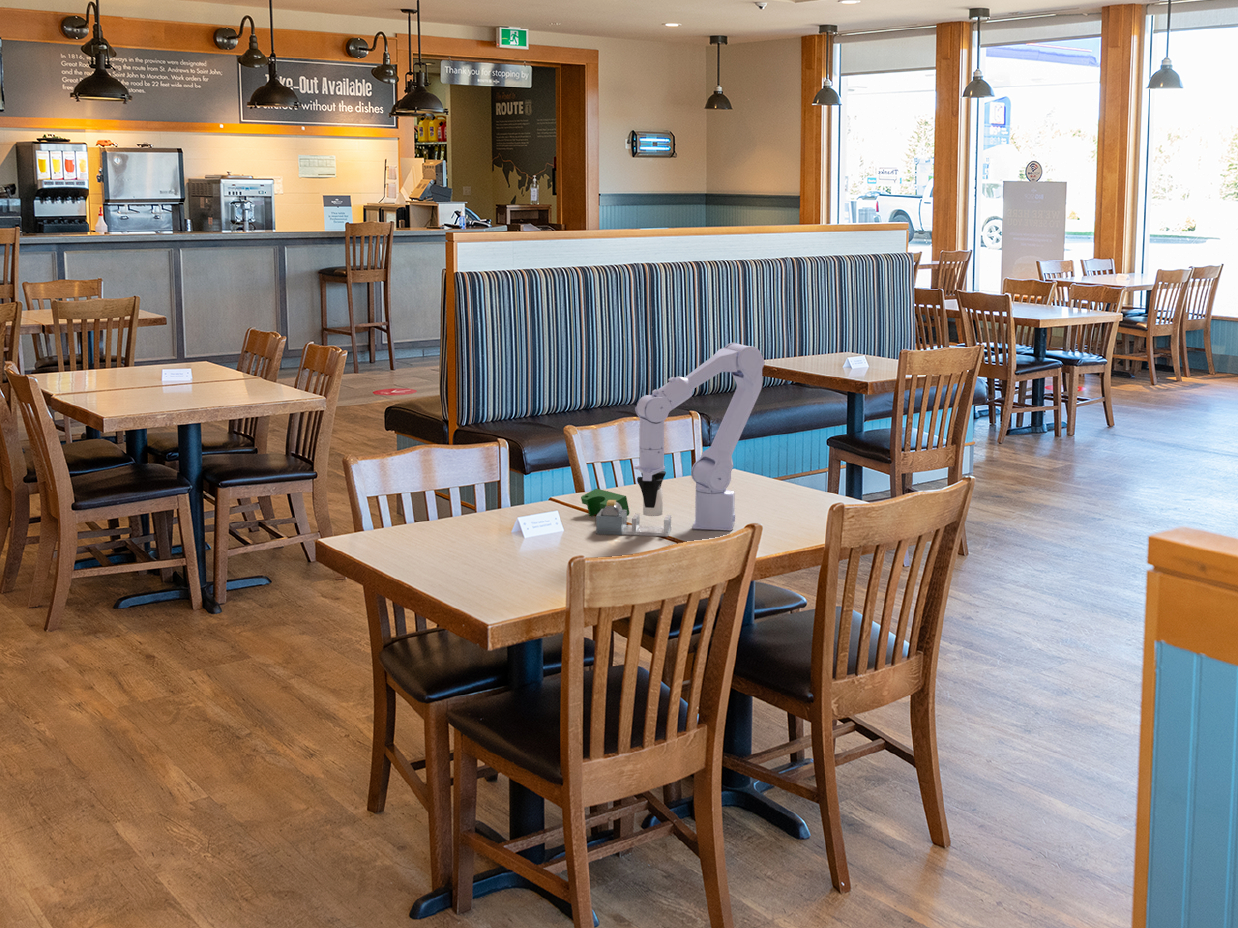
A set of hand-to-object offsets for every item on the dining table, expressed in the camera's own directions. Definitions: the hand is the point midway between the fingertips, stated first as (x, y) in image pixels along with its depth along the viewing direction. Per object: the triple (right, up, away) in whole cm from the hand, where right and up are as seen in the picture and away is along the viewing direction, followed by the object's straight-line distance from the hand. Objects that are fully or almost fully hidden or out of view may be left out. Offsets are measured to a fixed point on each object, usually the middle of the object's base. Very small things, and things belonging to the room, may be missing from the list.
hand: (651, 504), depth 286 cm
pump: (0, -2, 0) cm, 2 cm away
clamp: (-11, -4, +17) cm, 20 cm away
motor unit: (-4, -6, +2) cm, 8 cm away
